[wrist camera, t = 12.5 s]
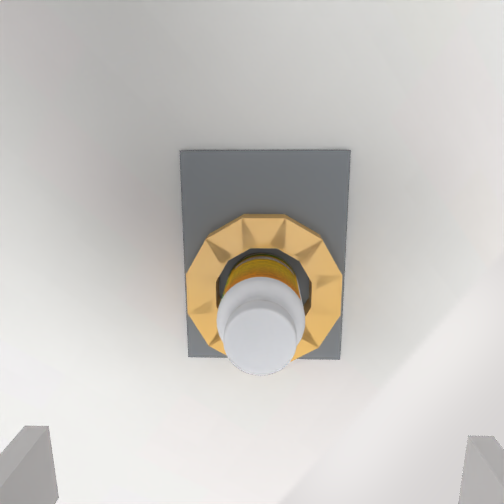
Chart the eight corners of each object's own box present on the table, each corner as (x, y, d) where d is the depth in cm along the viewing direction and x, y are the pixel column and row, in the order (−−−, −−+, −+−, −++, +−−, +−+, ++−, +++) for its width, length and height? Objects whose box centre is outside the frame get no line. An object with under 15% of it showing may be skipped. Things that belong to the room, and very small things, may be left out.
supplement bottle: (218, 261, 31) (196, 308, 22) (288, 243, 31) (297, 284, 22) (237, 326, 33) (224, 397, 23) (305, 310, 32) (320, 376, 23)
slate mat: (189, 354, 34) (188, 356, 33) (181, 150, 30) (179, 150, 30) (339, 356, 33) (340, 359, 33) (349, 150, 30) (350, 150, 29)
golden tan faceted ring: (194, 351, 33) (189, 363, 31) (189, 213, 31) (183, 217, 29) (334, 353, 33) (338, 366, 31) (340, 214, 30) (345, 218, 28)
